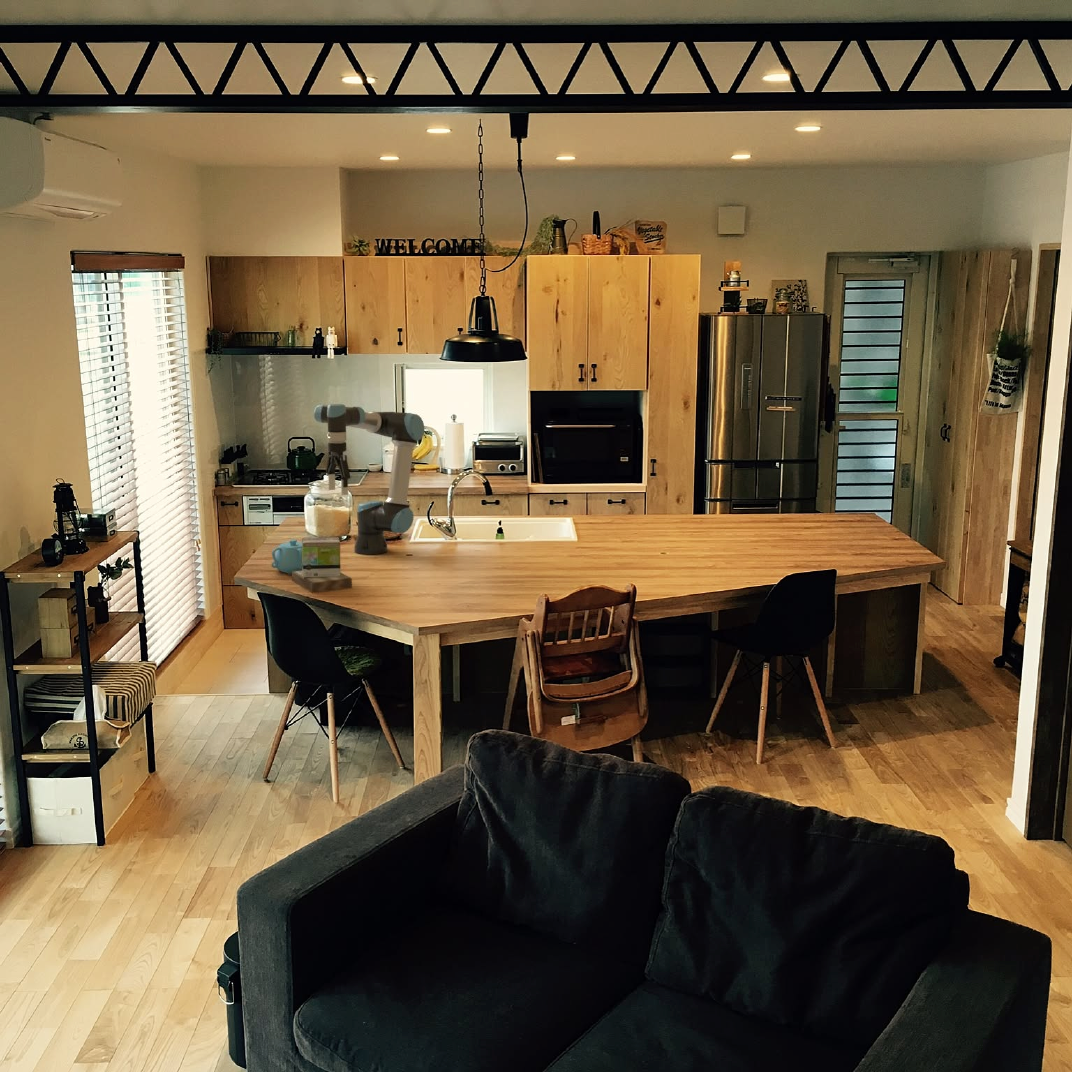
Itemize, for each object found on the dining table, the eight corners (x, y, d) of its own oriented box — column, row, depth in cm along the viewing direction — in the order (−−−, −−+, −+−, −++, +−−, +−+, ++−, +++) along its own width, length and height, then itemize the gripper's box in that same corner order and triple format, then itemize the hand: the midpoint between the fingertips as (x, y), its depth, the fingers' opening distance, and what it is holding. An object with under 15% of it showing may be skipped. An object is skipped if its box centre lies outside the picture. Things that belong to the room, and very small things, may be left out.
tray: (330, 575, 479) (330, 566, 479) (351, 587, 461) (351, 578, 460) (292, 580, 470) (291, 571, 470) (312, 593, 452) (311, 583, 451)
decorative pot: (302, 577, 476) (301, 545, 473) (267, 574, 481) (266, 542, 478) (319, 568, 492) (319, 537, 489) (286, 565, 496) (285, 534, 493)
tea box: (303, 578, 458) (302, 542, 455) (302, 572, 468) (301, 537, 465) (341, 577, 462) (340, 541, 459) (339, 571, 471) (338, 536, 468)
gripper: (317, 438, 481) (318, 488, 485) (340, 446, 460) (341, 497, 465) (333, 437, 485) (334, 486, 489) (357, 445, 464) (358, 496, 469)
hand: (338, 492), depth 477 cm, fingers open, 13 cm apart
